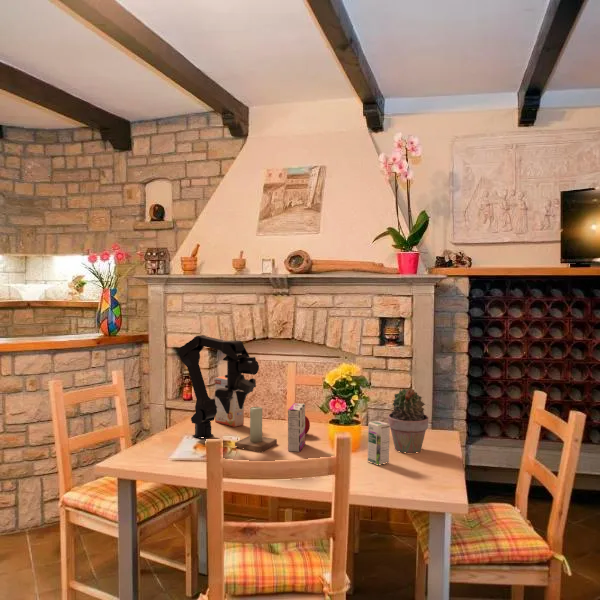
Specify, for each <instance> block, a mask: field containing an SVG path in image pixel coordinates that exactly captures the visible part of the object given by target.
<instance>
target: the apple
mask: <svg viewBox="0 0 600 600" xmlns="http://www.w3.org/2000/svg"><path fill="white" fill-rule="evenodd" d="M310 428H311V424H310V420H309V418H308V417H307V416H306V415H305V436H306V435H307V434H308V433H309V431H310Z"/></svg>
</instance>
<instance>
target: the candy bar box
mask: <svg viewBox="0 0 600 600" xmlns="http://www.w3.org/2000/svg"><path fill="white" fill-rule="evenodd" d="M305 416H306V403H301V402H300V403H299V402H298V403H297V402H294V403H292V405H291V406H290V407H289V408H288V409H287V441H288V442H287V449H288V452H293V453H300V452H301V450H303V448H304V447H305V445H306V435H305Z"/></svg>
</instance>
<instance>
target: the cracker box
mask: <svg viewBox="0 0 600 600" xmlns="http://www.w3.org/2000/svg"><path fill="white" fill-rule="evenodd" d="M214 379H215V380H214V382H215V384H214V386H215V388H214V389H215V390H214V392H215V391H216V390H217V389H220V388H225V385H227V378H225V375H221V376H216V377H215V378H214ZM227 389H228V388H227ZM232 397H233V398H232V399H231V401H230V411H229V414H227V413H226V411H225V409H224V407H223V405H222V403H221V402H220V400H219V398H217V397H215V396H214V400H215V403H216V406H217V408H216V409H217V413H216V415H215V418H214V422H215V423H218V424H223V425H226V426H230V427H233V428H235V427H239V426H244V425H245V404H244V405H243V408H242V409H240V408H239V405H238V400H237V395H236V392H234V393H233V395H232Z"/></svg>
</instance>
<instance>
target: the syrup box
mask: <svg viewBox="0 0 600 600" xmlns="http://www.w3.org/2000/svg"><path fill="white" fill-rule="evenodd" d="M367 427H368V429H367V462H368V461H370V462H372V463H375V464H378V465H379V464H383V463H386V462H389V463H390V433H391V428H390V424H388V423H387V422H384V421H381V420H380V421H379V420H375V421H370V422H368V425H367ZM372 463H371V464H372Z"/></svg>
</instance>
